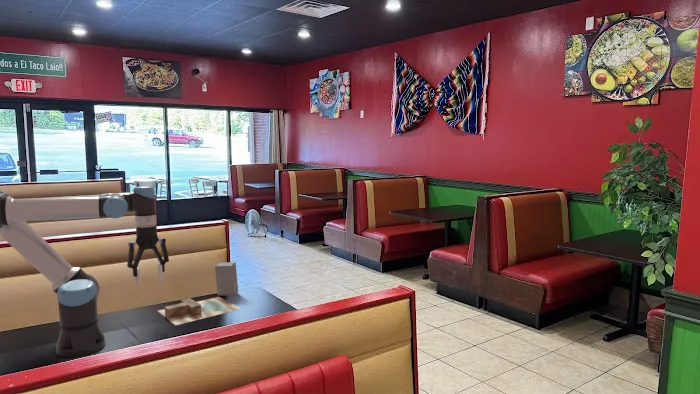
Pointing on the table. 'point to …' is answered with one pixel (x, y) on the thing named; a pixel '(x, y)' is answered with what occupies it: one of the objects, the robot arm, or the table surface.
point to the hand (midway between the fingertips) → (149, 282)
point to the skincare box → (226, 278)
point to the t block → (183, 309)
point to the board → (205, 310)
